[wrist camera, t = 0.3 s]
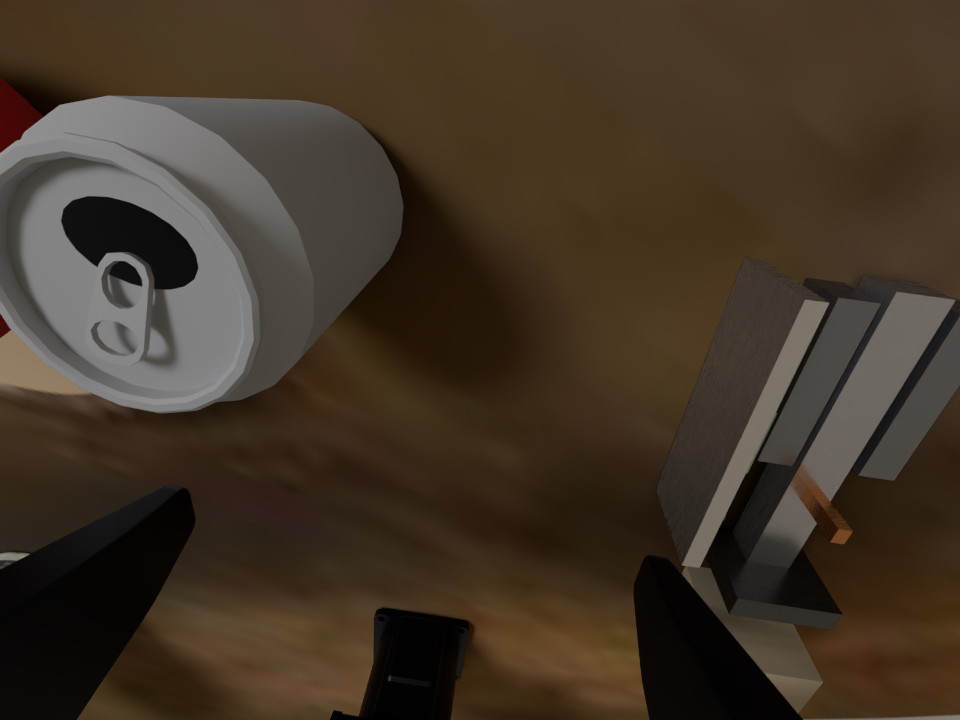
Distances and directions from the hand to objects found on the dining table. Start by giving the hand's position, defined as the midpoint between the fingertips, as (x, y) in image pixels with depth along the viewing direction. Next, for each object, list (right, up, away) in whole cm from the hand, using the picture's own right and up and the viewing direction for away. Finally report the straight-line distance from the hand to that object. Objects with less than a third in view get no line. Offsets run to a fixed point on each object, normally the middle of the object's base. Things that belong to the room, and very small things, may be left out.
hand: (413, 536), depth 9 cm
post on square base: (+17, 0, +14) cm, 22 cm away
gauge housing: (+16, +1, +14) cm, 21 cm away
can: (-5, +10, +11) cm, 16 cm away
